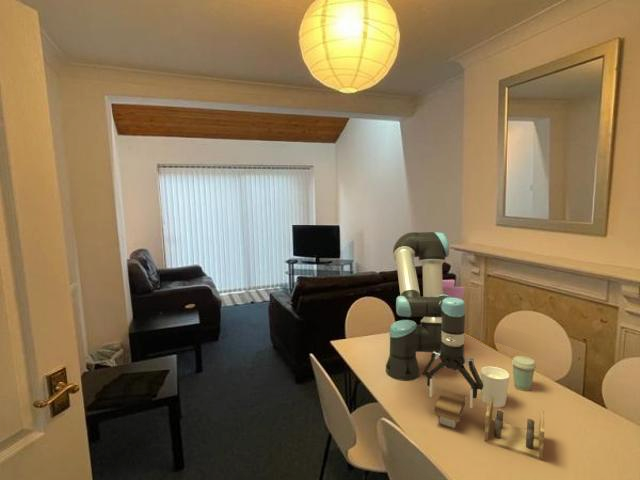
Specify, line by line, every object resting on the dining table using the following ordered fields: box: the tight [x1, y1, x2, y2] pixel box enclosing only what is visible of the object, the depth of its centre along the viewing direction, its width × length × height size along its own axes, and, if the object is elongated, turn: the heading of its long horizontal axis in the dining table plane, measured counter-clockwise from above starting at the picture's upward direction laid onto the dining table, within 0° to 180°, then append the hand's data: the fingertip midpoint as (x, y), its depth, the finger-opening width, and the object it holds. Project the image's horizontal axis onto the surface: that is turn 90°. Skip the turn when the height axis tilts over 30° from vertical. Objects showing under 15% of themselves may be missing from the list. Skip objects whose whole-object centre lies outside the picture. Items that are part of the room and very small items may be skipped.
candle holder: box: [480, 365, 510, 409], centre depth 134 cm, size 10×10×12 cm
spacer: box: [439, 416, 458, 429], centre depth 124 cm, size 8×5×4 cm, turn 148°
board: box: [434, 389, 467, 423], centre depth 124 cm, size 12×8×3 cm, turn 147°
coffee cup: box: [511, 355, 537, 392], centre depth 143 cm, size 8×8×12 cm
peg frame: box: [484, 396, 545, 462], centre depth 113 cm, size 16×12×10 cm
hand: (451, 400), depth 123 cm, fingers open, 13 cm apart
